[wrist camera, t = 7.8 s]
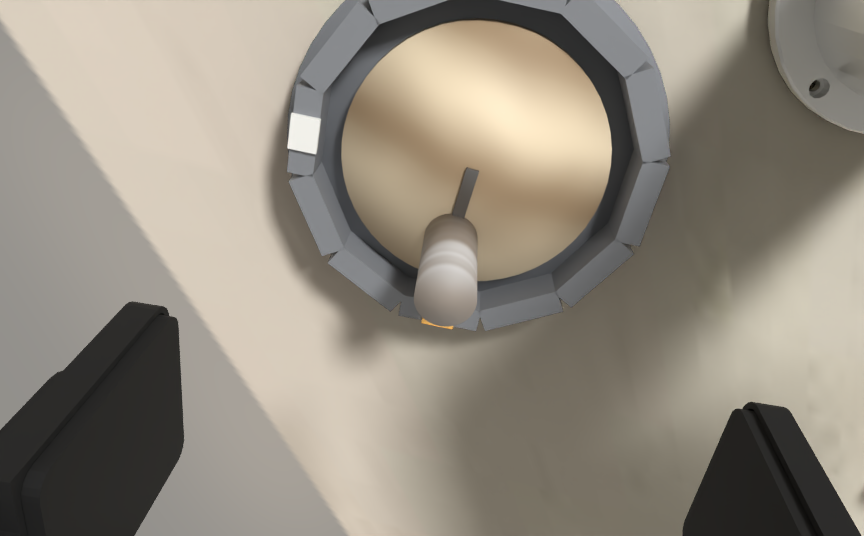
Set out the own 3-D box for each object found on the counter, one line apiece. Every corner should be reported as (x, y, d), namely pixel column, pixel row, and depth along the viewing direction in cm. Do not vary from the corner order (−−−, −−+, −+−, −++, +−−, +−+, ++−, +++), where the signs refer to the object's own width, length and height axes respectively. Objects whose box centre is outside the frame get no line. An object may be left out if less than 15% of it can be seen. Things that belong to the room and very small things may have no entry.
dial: (377, -18, 29) (350, 0, 23) (651, 64, 30) (695, 102, 24) (322, 235, 35) (288, 305, 29) (554, 298, 36) (569, 379, 30)
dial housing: (721, -6, 30) (750, 4, 27) (595, 332, 39) (606, 371, 35) (317, -97, 30) (297, -98, 26) (278, 266, 38) (259, 300, 35)
